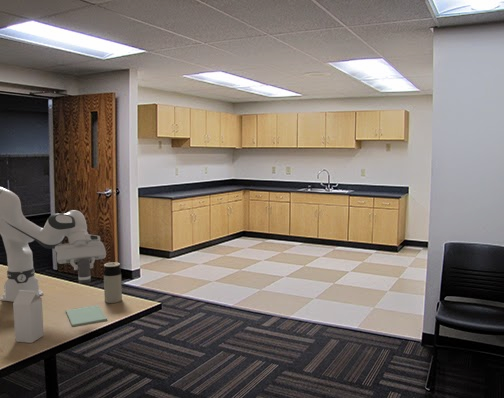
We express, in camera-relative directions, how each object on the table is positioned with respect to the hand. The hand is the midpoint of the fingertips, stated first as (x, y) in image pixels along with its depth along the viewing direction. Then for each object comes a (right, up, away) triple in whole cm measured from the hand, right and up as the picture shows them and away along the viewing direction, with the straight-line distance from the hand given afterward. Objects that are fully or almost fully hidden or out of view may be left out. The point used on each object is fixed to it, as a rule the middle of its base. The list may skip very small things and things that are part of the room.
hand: (84, 268), depth 197 cm
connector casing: (0, -6, +1) cm, 6 cm away
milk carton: (-13, -24, -21) cm, 35 cm away
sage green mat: (0, -21, +3) cm, 21 cm away
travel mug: (+6, -19, +23) cm, 31 cm away
